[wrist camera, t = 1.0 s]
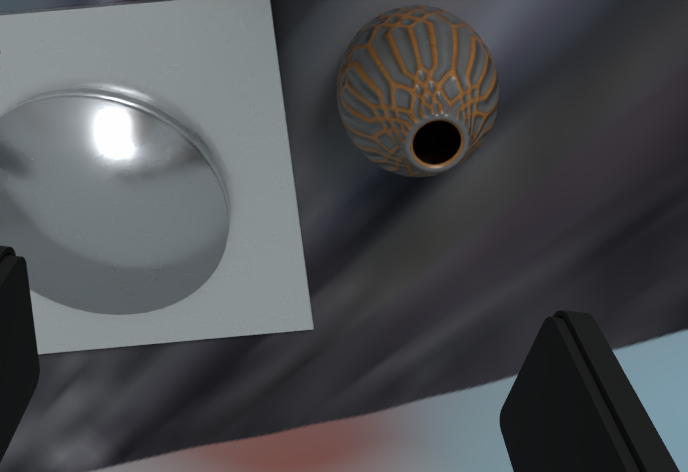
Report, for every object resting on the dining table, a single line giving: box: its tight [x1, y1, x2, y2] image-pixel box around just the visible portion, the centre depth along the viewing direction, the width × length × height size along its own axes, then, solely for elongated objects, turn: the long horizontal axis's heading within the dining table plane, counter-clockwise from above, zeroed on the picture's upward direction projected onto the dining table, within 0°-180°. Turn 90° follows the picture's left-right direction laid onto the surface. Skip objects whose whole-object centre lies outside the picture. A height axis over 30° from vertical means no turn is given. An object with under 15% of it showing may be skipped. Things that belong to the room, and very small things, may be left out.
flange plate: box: [0, 0, 314, 354], centre depth 32 cm, size 20×20×2 cm
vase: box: [337, 6, 499, 177], centre depth 26 cm, size 7×7×9 cm
